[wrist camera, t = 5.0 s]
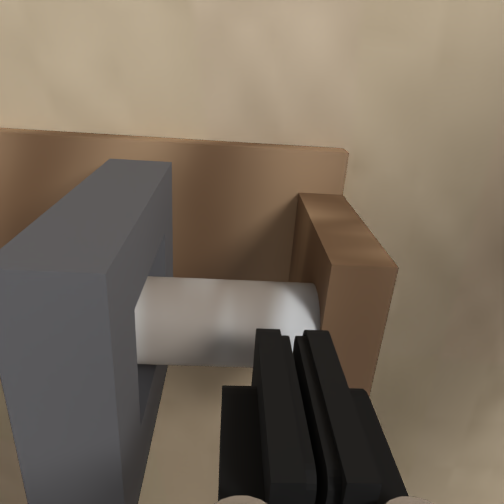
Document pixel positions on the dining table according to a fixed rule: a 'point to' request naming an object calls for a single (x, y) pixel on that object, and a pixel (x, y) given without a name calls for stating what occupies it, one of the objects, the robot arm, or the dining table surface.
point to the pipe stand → (229, 244)
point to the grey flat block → (85, 335)
